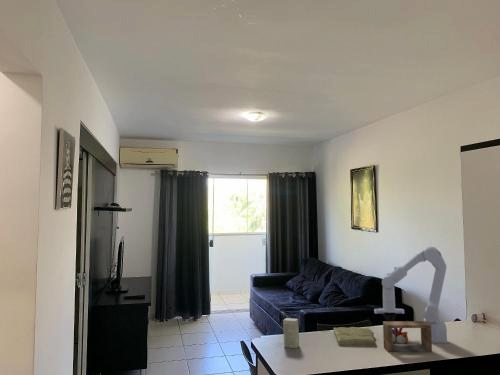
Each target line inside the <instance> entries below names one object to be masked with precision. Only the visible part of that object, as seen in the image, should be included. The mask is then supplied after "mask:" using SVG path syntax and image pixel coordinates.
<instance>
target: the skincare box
mask: <svg viewBox="0 0 500 375" xmlns="http://www.w3.org/2000/svg"><path fill="white" fill-rule="evenodd" d="M282 323H283V324H282V326H283V347H284V348H291V349H298V348H299V347H300V332H299V331H300V328H299V319H298V318H291V317H286V318H284V319H283V320H282Z"/></svg>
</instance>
